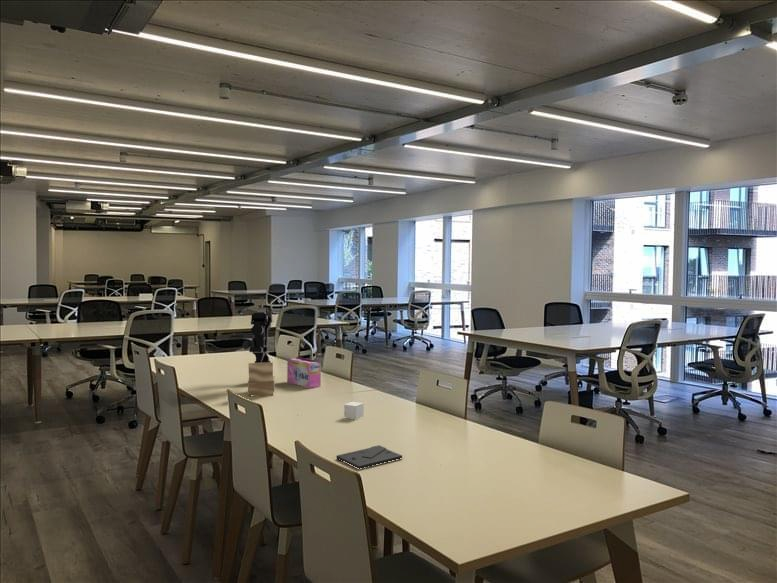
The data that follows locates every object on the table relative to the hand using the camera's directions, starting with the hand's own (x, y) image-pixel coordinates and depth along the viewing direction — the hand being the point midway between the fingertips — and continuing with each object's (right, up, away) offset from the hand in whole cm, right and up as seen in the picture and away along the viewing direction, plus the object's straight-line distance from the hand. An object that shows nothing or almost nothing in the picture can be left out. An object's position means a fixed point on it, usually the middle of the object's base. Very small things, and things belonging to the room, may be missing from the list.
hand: (258, 365), depth 311 cm
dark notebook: (+62, -19, -112) cm, 129 cm away
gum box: (+22, -12, +13) cm, 28 cm away
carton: (+3, -13, -10) cm, 17 cm away
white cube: (+53, -16, -57) cm, 79 cm away
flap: (+5, -1, -19) cm, 20 cm away
